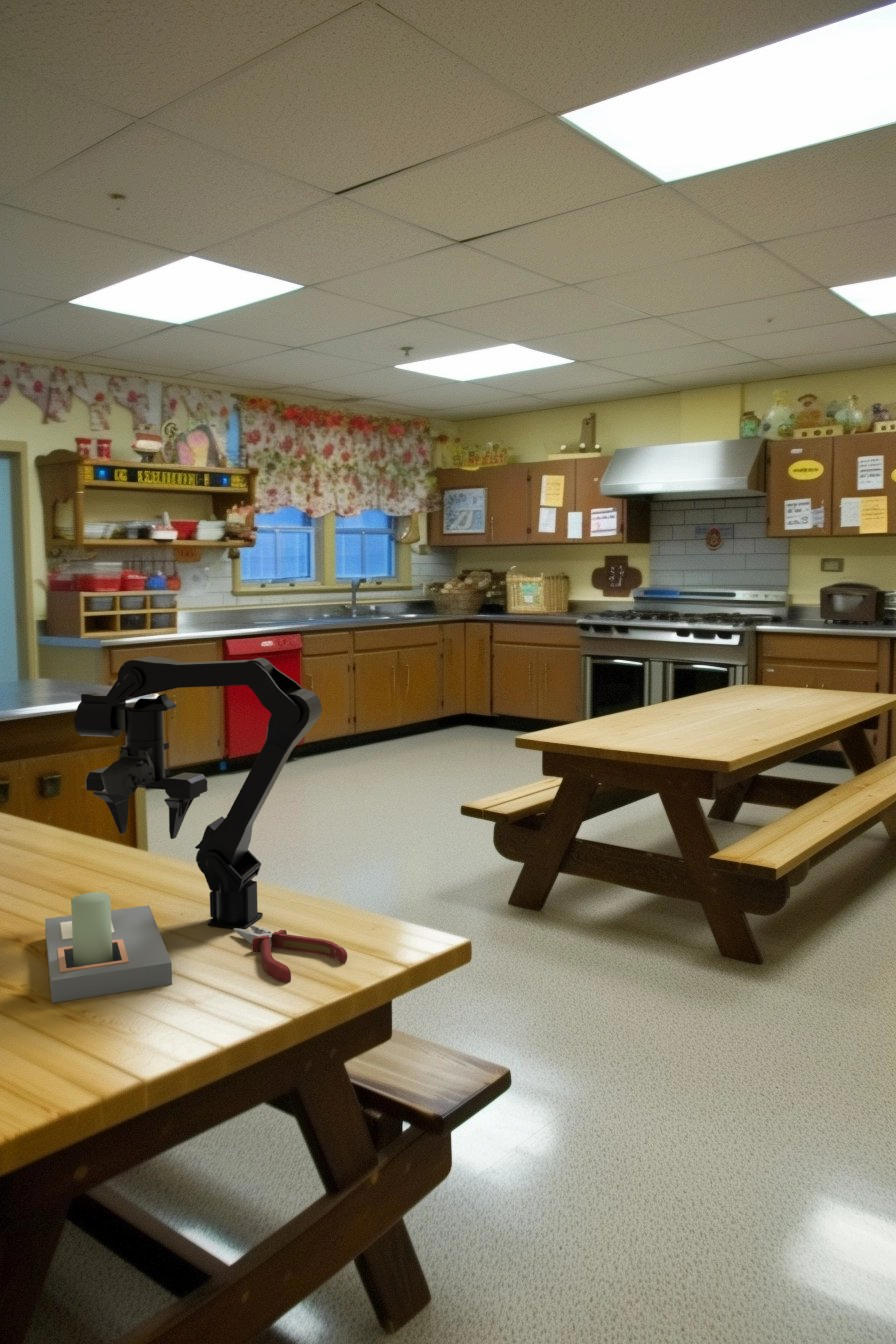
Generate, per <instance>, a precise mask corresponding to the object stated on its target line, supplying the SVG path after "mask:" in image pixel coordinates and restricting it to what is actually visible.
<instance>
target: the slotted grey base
mask: <svg viewBox="0 0 896 1344" xmlns="http://www.w3.org/2000/svg"><path fill="white" fill-rule="evenodd" d="M44 924H45V927H44V928H45V943H46V952H47V953H46V954H47V955H46V956H47V964H48V974H49V975H48V976H49V985H50V986H49V987H50V995H51V996H50V997H51V1004H55V1003H62V1002H69V1001H75V1000H81V999H89V998H93V997H98V996H100V997H101V996H105V995H114V994H118V993H124V992H131V991H137V990H143V989H148V988H149V989H150V988H157V987H162V986H163V987H164V986H168V985H173V974H172V973H173V971H172V970H173V967H172V965H173V964H172V960H171V956H170V955H169V952H168V950H167V947H166V945H165V942H164V940H163V937H162V935H161V932H160V930H159V928H158V927H159V926H158V924H157V922H156V920H155V917H154V914H153V912H152V909H151V906H150V905H149V904H148V905H142V906H135V907H134V906H133V907H128V908H127V907H125V908H117V909H111V928H112V955H113V962H106V963H100V964H93V965H86V966H79V967H74V959H73V935H72V914H70V915H64V916H57V917H56V916H55V917H48V918H45V919H44Z"/></svg>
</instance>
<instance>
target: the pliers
mask: <svg viewBox="0 0 896 1344" xmlns="http://www.w3.org/2000/svg"><path fill="white" fill-rule="evenodd" d="M249 928H250V929H246V928H245V929H237V928H232V929H233V930H232V931H234V932H235V933H236V934H237V935H239V936H240V937H242V938H243V939H244V940H245V941H247V942H248V943H249V944H252V953H253V952H255V953H260V958H261V959H260V960H261V966H262V969H263V971H264V973H265V974H266V975H267V976H268V977H270V978H272V979H274V980H276V981H278V982H280V983H285V984H286V983H289V982H290V983H291V981H292V973H291V970H290V968H289V967H288V965H286V964H285V963H283V962H281V961H278V960H276V959H275V958H274V957H273V954H272V949H271V948H274V949H280V948H281V949H280V950H287V949H288V950H287V951H296V952H302V953H310V954H315V953H316V955H321V954H322V955H321V956H325V955H326V956H325V957H328V956H329V957H328V958H330V957H331V958H330V959H332V958H333V960H334V959H335V960H334V961H336V960H337V961H336V962H338V961H339V962H341V963H344V964H346V963H345V962H347V960H348V952H347V950H346V949H345V948H344V947H343V946H341V945H339V944H337V943H335V942H334V941H331V940H327V939H322V938H316V937H311V936H301V935H294V934H288V931H287V930H286V929H280V930H278V931H274V932H273V933H271V930H269V929H267V928H264V927H260V926H256V925H253V924H251V925H249ZM339 962H338V963H339ZM341 963H340V964H341Z"/></svg>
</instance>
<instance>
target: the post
mask: <svg viewBox="0 0 896 1344" xmlns="http://www.w3.org/2000/svg"><path fill="white" fill-rule="evenodd" d="M111 902H112V901H111V895H110V894H109V893H106V892H101V891H99V892H98V891H96V892H95V891H94V892H93V891H92V892H86V893H81V894H79V895H75V896H74V897H72V898H71V899H70V907H71V915H72V935H73V959H74V967H79V966H86V965H93V964H100V963H106V962H113V955H112V928H111V910H112V907H111V906H112V905H111Z"/></svg>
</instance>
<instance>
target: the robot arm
mask: <svg viewBox="0 0 896 1344" xmlns="http://www.w3.org/2000/svg"><path fill="white" fill-rule="evenodd" d="M235 686H247V687H248V688H249V689H250V690H251V691H252V692H253V694H254V695H255V696H256V698H257V699H258V700H259V702H260V703H261V705H262V706H263V707H264V708H265V709H266V710H267V711H268V712H269V713H270V716H269V719H268V723H267V730H266V736H265V737H266V738H265V741H264V744H263V746H262V748H261V749H260V751H259V754H258V755H257V757H256V758H255V762H254V763H253V764H252V767H251V769H250V771H249V773H248V774H247V776H246V778H245V781H244V782H243V784H242V785H241V788H240V790H239V792H238V794H237V796H236V797H235V800H234V801H233V804H232V805H231V807H230V809H229V811H228V813H227V815H226V816H225V817H224V816H219V818H217V819H216V820H214V821H212V822H211V823H209V824H208V825H207V826H206V827H205V829H204V832H203V836H202V838H201V840H200V841H199V843H198V844H197V845H195V846H194V848H195V849H196V850H197V853H196V856H195V862H196V864H197V867H198V869H199V870H200V872H201V873H202V874H203V875H204V878H205V881H206V883H207V886H208V889H209V890H210V892H209V916H210V919H209V920H208V921H206V923H207V926H213V927H220V928H228V929H234V928H237V929H246V928H248V927H250V925H253V924H254V923H256V921H258V920H259V919H260V918H262V917H263V916H264V915H263V912H262V911H261V912H259V911H258V910H259V909H258V881H256V880H253V879H254V878H255V877H257V876H258V875H259V872H260V871H261V866H262V863H261V862H260V860H258V858H257V857H256V856H255V855H254V854H253V853H252V852H251V851H250V850H249V848H250V844H251V840H252V832H253V825H254V822H255V821H256V820H257V817H258V815H259V814H260V812H261V810H262V808H263V806H264V804H265V802H266V800H267V798H268V796H269V794H270V793H271V791H272V789H273V787H274V786H275V783H276V782H277V779H278V778H279V775H280V773H281V772H282V769H283V768H284V766H285V764H286V762H287V761H288V759H289V757H290V756H291V753H292V751H293V750H294V748H296V746H297V745H298V744H299V743H300V742H301V740H302V739H303V738H304V737H305V736H306V735H307V734H308V732H310V730H311V729H312V727H314V725H315V723H317V721H318V720H319V719H320V717H321V715H322V712H323V706H322V703H321V700H320V698H319V696H318V695H317V694H316V693H314V691H313V690H309V689H308V688H303V687H302V686H301V685H300V684H299V683H298V682H297V681H295V680H294V679H292V678H291V677H290V676H288V675H287V674H285V673H284V672H282V671H281V670H279V669H278V668H277V667H276V666H275V665H273V663H271V662H270V661H269V660H268V659H266V658H265V657H257V658H253V659H240V660H238V659H237V660H214V661H213V660H211V661H189V662H188V661H180V660H175V659H172V658H168V657H167V658H166V657H161V656H154V655H149V656H145V657H139V658H135V659H129V660H126V661H125V662H123V663H122V665H121V666H120V668H119V669H118V672H117V679H116V681H115V683H113V686H111V688H110V689H109V692H108V693H98V692H97V693H96V692H89V691H88V692H84V693H81V695H80V702H79V704H78V706H77V707H76V711H75V716H73V717H74V718H73V723H74V728H75V731H76V732H77V734H78V735H79V736H81V737H103V738H104V737H105V738H117V737H119V736H120V735H121V734H122V732H123V731H125V745H122V746H120V750H119V757H118V760H116V761H114V762H112V763H111V764H110V765H109V766H108V765H107V766H103V767H101V768H97V769H94V770H92V771H89V772H88V774H87V775H86V778H85V790H86V791H89V792H90V791H91V792H92V795H93V796H94V797H95V796H96V797H98V798H99V799H101V800H102V801H104V802H105V804H106V806H107V807H108V809H109V811H110V814H111V815H112V818H113V820H114V823H115V825H116V827H117V830H118V832H119V834H120V835H124V834H125V833H126V832H127V828H128V821H129V820H128V818H129V804H130V796H131V795H132V794H134V793H135V792H136V791H137V789H138V788H141V789H151V790H152V789H155V790H165V791H164V792H165V794H166V795H167V796H168V797H167V798H164V799H163V800H164V802H165V804H166V806H167V807H168V830H169V837H170V839H171V840H173V839H176V838H177V837H178V834H179V832H180V829H181V827H182V824H183V822H184V820H185V817H186V815H187V813H188V810H189V809H190V806H191V805H192V803H193V802H194V799H196V798H199V797H200V796H201V794H203V793H205V792H208V780H207V778H206V776H205V775H204V774H203V773H195V772H194V773H193V772H182V773H178V774H176V775H174V776H171V777H166V776H168V775H171V774H170V773H171V772H170V771H171V770H170V767H166V766H165V763H166V762H165V761H166V759H165V750H168V749H170V741H165V734H164V733H165V731H164V725H165V724H164V712H167V711H170V710H173V709H176V708H177V707H178V706H177V703H175V702H174V701H173V700H172V699H170V698H169V697H168V695H167V694H166V693H162V692H167V691H170V690H174V689H180V688H182V689H183V688H203V687H204V688H205V687H208V688H209V687H211V688H212V687H235ZM158 693H162V694H159V695H157V697H156V698H141V697H145V696H148V695H153V694H158ZM139 697H140V698H139ZM137 698H139V699H137ZM133 699H137V700H136V701H135V703H127V702H128V701H130V700H133Z"/></svg>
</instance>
